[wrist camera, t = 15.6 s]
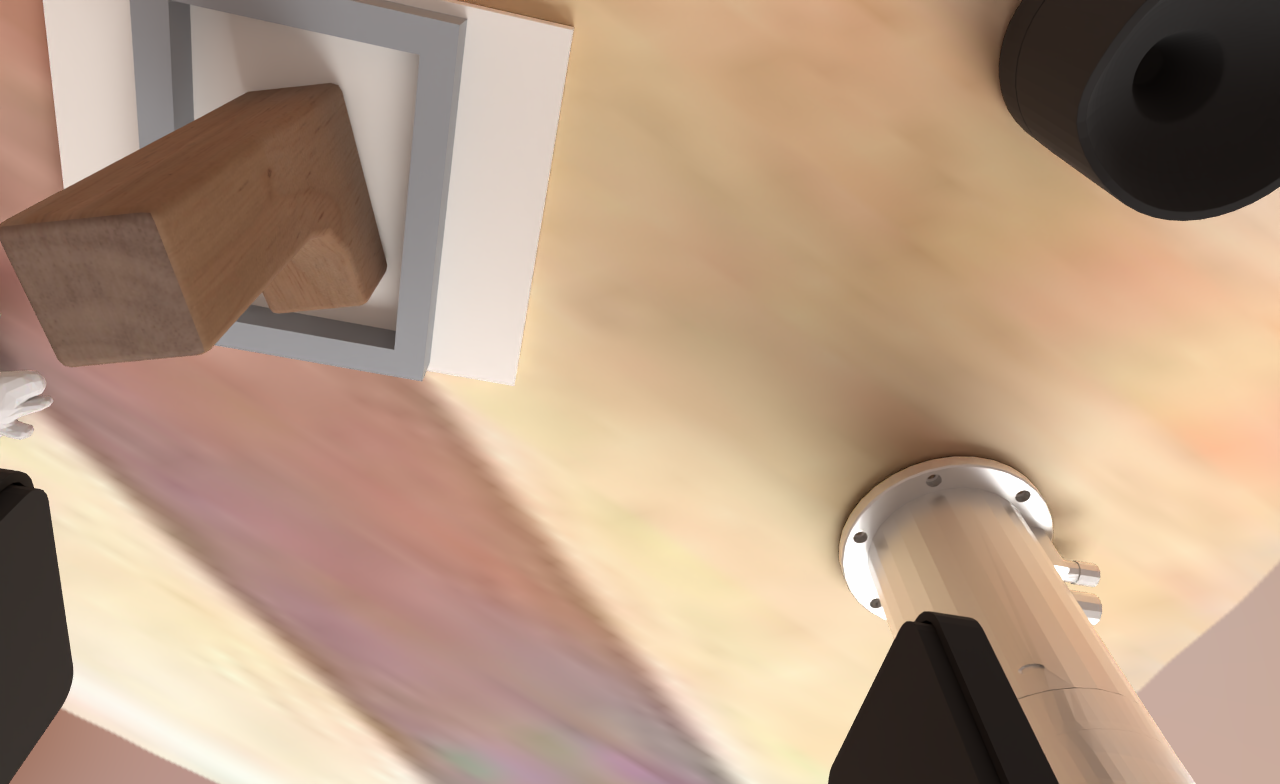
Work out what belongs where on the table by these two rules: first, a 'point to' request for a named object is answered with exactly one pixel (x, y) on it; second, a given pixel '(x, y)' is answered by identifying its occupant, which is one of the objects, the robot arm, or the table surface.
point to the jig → (386, 142)
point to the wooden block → (203, 232)
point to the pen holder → (1153, 97)
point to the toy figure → (20, 401)
